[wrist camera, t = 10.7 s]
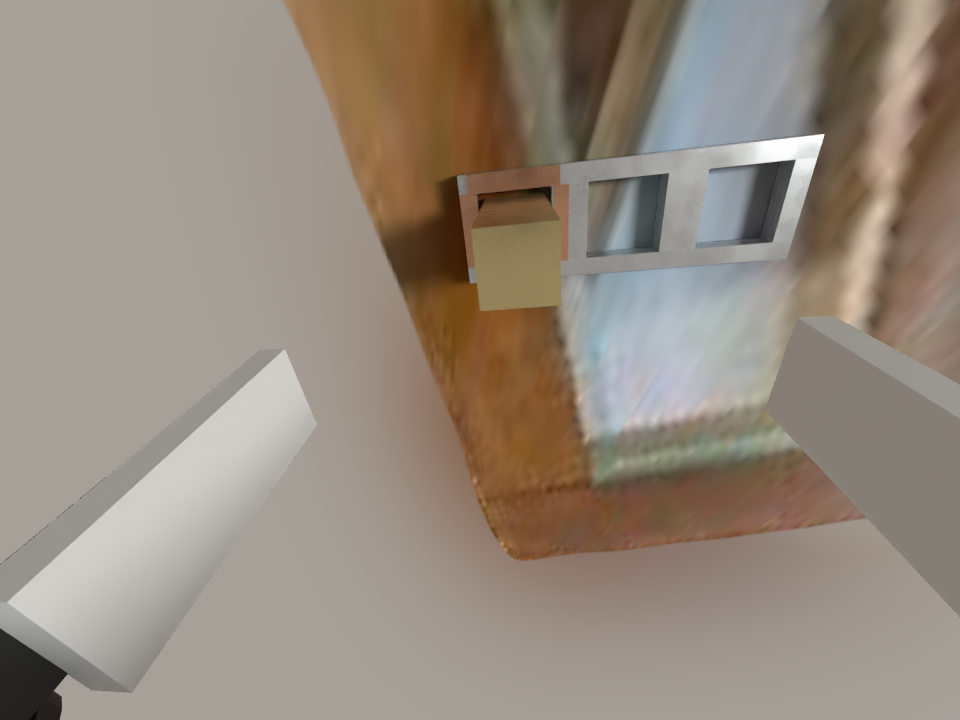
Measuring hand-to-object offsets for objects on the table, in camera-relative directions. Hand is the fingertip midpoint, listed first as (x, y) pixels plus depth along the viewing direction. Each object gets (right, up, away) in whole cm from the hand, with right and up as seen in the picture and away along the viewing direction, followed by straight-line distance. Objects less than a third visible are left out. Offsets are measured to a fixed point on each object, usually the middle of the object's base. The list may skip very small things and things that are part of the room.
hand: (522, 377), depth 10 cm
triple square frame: (+10, +12, +18) cm, 24 cm away
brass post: (+2, +11, +19) cm, 23 cm away
